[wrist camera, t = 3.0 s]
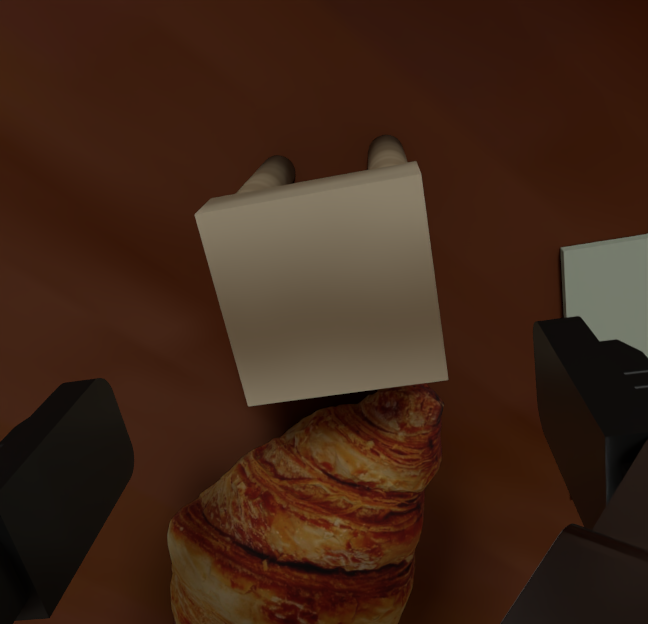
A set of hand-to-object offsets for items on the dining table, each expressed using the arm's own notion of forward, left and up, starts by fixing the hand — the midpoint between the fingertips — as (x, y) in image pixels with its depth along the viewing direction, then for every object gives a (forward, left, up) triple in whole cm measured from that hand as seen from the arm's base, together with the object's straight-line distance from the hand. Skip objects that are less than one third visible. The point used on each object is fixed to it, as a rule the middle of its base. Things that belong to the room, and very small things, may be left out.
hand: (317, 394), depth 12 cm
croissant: (+14, -5, -12) cm, 19 cm away
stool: (0, 0, -12) cm, 12 cm away
